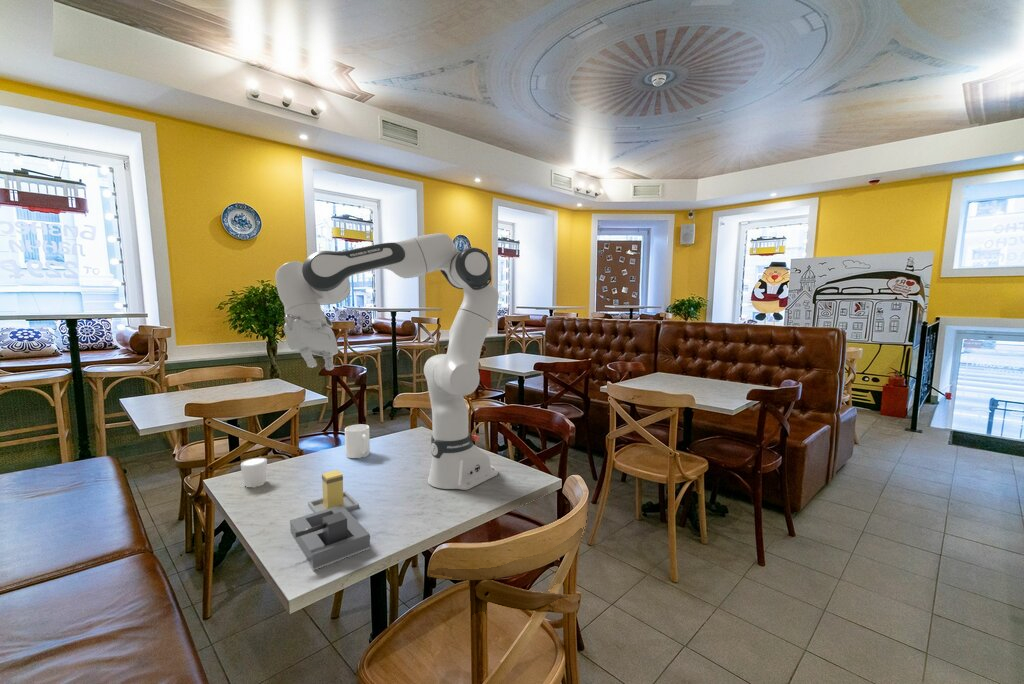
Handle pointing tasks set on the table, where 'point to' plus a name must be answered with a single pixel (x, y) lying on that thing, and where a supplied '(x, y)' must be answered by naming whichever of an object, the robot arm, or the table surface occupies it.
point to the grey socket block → (329, 536)
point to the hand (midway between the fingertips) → (322, 368)
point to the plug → (332, 489)
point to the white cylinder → (254, 472)
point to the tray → (347, 499)
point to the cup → (357, 441)
